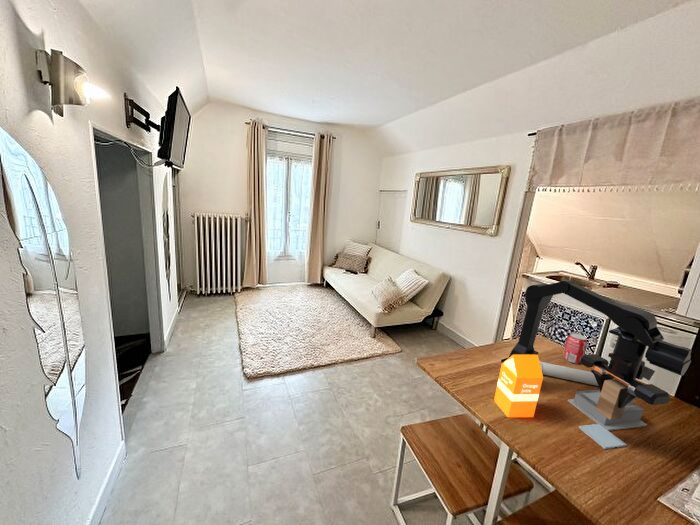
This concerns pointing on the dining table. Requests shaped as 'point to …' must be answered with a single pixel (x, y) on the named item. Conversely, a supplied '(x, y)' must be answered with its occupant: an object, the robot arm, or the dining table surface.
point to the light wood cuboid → (610, 399)
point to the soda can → (575, 347)
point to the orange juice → (519, 385)
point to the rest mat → (602, 436)
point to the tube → (568, 373)
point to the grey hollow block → (587, 405)
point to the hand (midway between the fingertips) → (611, 402)
